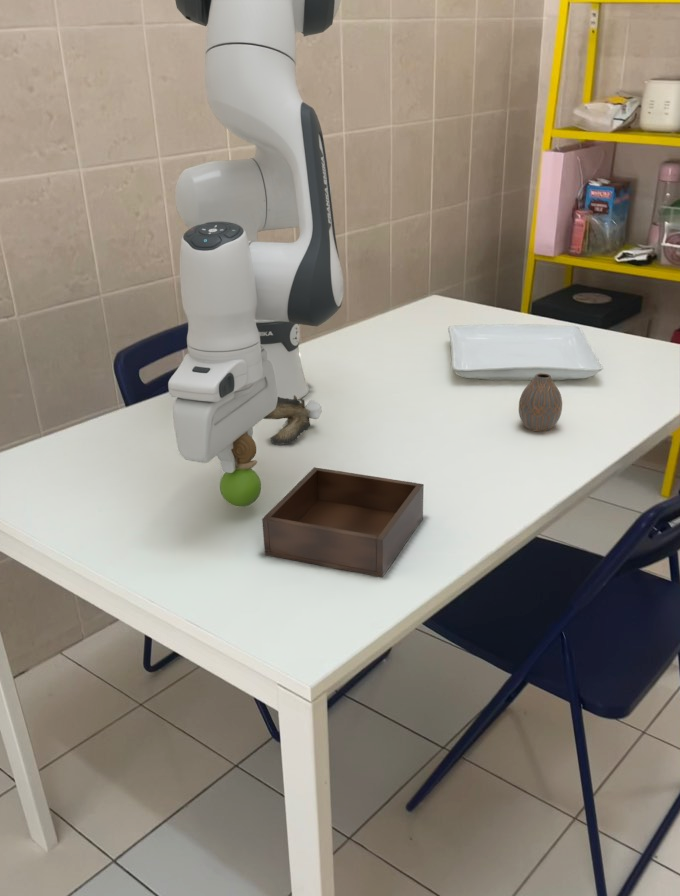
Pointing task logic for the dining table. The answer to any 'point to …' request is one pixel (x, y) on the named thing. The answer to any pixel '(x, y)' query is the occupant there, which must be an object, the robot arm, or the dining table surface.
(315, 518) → the crate
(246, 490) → the snail figurine
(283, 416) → the eagle figurine
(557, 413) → the vase
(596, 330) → the dining table surface
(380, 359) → the dining table surface
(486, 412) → the dining table surface
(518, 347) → the square plate
